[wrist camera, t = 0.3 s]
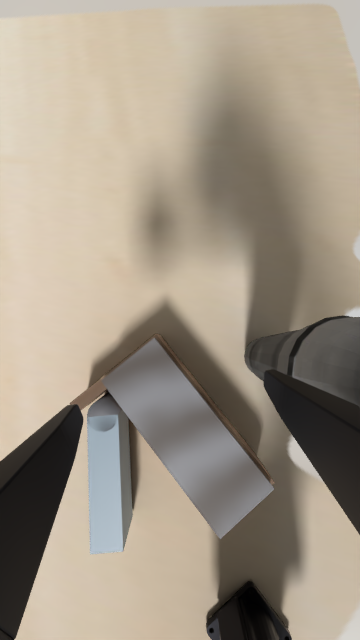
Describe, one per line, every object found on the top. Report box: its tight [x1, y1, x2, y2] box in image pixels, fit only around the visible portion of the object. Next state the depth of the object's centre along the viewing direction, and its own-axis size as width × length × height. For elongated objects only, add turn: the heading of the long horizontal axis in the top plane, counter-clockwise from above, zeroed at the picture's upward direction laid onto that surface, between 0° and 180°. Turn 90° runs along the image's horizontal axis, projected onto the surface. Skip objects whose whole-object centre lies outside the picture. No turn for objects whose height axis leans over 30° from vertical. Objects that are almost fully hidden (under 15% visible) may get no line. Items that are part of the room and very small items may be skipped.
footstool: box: [70, 334, 275, 539], centre depth 20 cm, size 18×11×5 cm, turn 39°
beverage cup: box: [244, 316, 360, 407], centre depth 13 cm, size 7×7×20 cm
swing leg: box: [87, 392, 132, 554], centre depth 20 cm, size 14×3×4 cm, turn 4°
